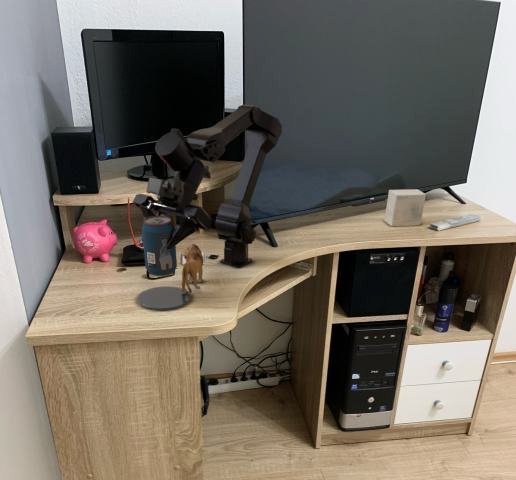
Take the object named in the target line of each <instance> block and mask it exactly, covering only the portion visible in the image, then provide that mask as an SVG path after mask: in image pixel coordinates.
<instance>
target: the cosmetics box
mask: <svg viewBox="0 0 516 480" xmlns="http://www.w3.org/2000/svg"><path fill="white" fill-rule="evenodd" d="M426 197H427V193H425V192H423V191H421V190H420V189H418V188H417V189H416V188H415V189H411V188H410V189H389V190H388V196H387V200H386V201H387V202H386V206H385V207H386V208H385V213H384V219H383V220H384V222H385V223H386V224H387V225H389V226H390V227H407V226H409V227H410V226H421V223H422V218H423V213H424V208H425V202H426Z"/></svg>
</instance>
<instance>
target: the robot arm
mask: <svg viewBox="0 0 516 480" xmlns="http://www.w3.org/2000/svg"><path fill="white" fill-rule="evenodd" d="M244 131H246V132H245V138H246V141H247V149H246V153H245V155H244V159H243V162H242V165H241V167H240V170H239V174H238V176H237V180H236V183H235V185H234V188H233V192H232V194H231V197H230V200H229V201H227V203H221V204H220V205H219V208H218V211H217V214H216V215H215V223H214V224H215V225H214V226H215V230H216V233H217V238H218V240H223V241H224V247H223V258H221V259H220V261H219V262H220V263H222V264H225V265H229V266H231V267H235V268H241V267H243V266H246V265H248V264H250V263H252V262H253V258H250V257H249V245H252V244H253V242H255V239H256V233H257V232H256V231H255V230H254V229H253V227H252V226H251V225H250V224H251V220H252V217H251V212H250V204H251V201H252V198H253V196H254V193H255V189H256V186H257V184H258V181H259V177H260V174H261V171H262V168H263V166H264V162H265V159H266V158H267V157H266V156H267V154H268V153H270V151H272V150H273V149H274V148H275V147H276V146H277V144H278V141H279V139H280V137H281V134H282V132H283V125H282V123H281V122H280V120H279V118H278V117H275V116H273V115H271V114H269V113H267V112H265V111H264V110H262V109H261V108H260V107H258V106H257V105H250V104H241V105H239V106H238V107H237V108H236V110H234V111H233V112H231V113H230V114H229V115H227V116H226V117H224V118H223V119H222V120H220V121H218V122H217V123H216V124H214V125H213V126H210V127H207V128H201V129H198V130H196V131H193V132H191V133H190V134H189V135H188V136H187V138H185V135H184V134H183V132H182V130H181V129H178V128H171V129H170V131H169V132H168V133H165V134H163V135H162V136H161V137H160V139H157V141H156V143H155V147H154V151H155V153H156V154H157V155H158V156H159V157H160V159H161V160H162V161H163V162H164V163H165V164H166V165H167V167H168V168H169V169H170V170H171V171H172V172H175V175H174V176H173V177H171V178H168V179H166V180H164V179H160V178H155V177H148V178H149V179H148V182H147V187H146V193H147V194H144V193H137V194H135V196H134V198H133V200H132V204H133V205H134V207H136V208H137V209H138V210H139V211H140V212H141V213H142V216H143V221H142V225H143V224H144V219H145V218H147V217H151V216H162V214H164V215H168V216H172V217H175V225H174V229H173V231H172V234H171V236H170V238H169V240H168V243H167V246H166V248H167V249H168V250H170V249H172V248H173V247H174V246H177V245H178V244H180V243H181V242H182V241H184V240H185V239H186V238H189V237H190V236H191V235H193V234H194V233H198V232H200V230H202V231H209V230H210V227H211V226H212V217H211V216H210V215H209V214H208V213H207V212H206V210H205V209H204V208H203V206H199V205H196V204H195V205H194V204H192V202H193V201H197V200H198V198H199V195H197V191H198V190H199V187H200V185H201V183H202V182H203V179H208V180H211V177H212V176H211V172H210V169H209V167H210V166H209V165H205V164H204V163H203V162H202V161H204V162H210V163H215V162H217V161H218V160H219V159H220V158H221V156H222V155H223V154H224V153H225V152H226V145H228V144H229V143H230V142H231V141H233V140H234V139H235V138H237V137H238V136H239V135H241V134H242V133H244ZM149 194H153V195H156V199H157V200H158V201H159V202H158V201H157V200H156V199H155V198H154V197H153V196H152V195H149ZM160 202H161V203H160ZM141 242H142V243H143V234H142V233H141Z"/></svg>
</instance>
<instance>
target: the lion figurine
mask: <svg viewBox="0 0 516 480" xmlns="http://www.w3.org/2000/svg"><path fill="white" fill-rule="evenodd" d="M181 254H182V257H183V258H184V260H186V262H185V263H184V264H183V266H182V270H181V284H180V285H181V289H182V290H181V292H186V291H188V293H189V294H192V293H193V290H192V288H191V286H190V284H191V283H193V287H194V289H195V290H201V286H199V285H198V282H199V283H202V282H204V279H203V272H204V269H203V266H204V263H205V262H204V256H203V252H202V250H201V248H200V247H199V245H197V244H196V243H189V244H187V246H186V248H185V250H184V251H182V252H181ZM186 287H187V289H188V290H187V289H186Z"/></svg>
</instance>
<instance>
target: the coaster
mask: <svg viewBox="0 0 516 480" xmlns="http://www.w3.org/2000/svg"><path fill="white" fill-rule="evenodd" d="M181 290H182V287H178V286H166V285H165V286H156V287H151V288H148V289H145V290H143V291H142V292H140V293H139V294H138V295H137V303H138V305H140V306H141V307H142V308H144V309H147V310H150V311H151V310H152V311H160V312H161V311H162V312H163V311H172V310H176V309H180V308H183V307H185V306H186V305H187V304H189V302H190V301H191V293H189V291H188V290H186V292H181Z"/></svg>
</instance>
